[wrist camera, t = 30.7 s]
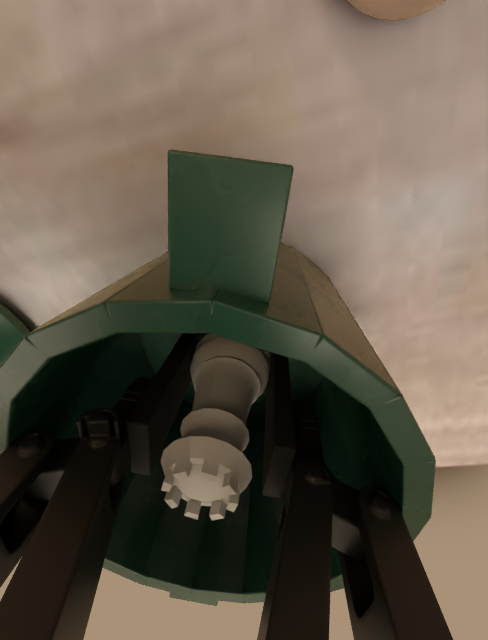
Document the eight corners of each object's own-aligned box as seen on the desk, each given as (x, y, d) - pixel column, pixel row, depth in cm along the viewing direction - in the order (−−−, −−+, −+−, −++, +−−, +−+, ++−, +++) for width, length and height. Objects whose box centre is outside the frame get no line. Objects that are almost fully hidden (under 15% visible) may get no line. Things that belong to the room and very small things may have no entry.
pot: (140, 429, 22) (49, 595, 13) (122, 159, 14) (-170, 101, 5) (308, 457, 22) (333, 650, 13) (395, 195, 13) (661, 208, 4)
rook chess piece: (184, 332, 15) (107, 456, 8) (260, 316, 15) (248, 439, 7) (209, 393, 17) (163, 539, 10) (279, 382, 16) (283, 534, 9)
